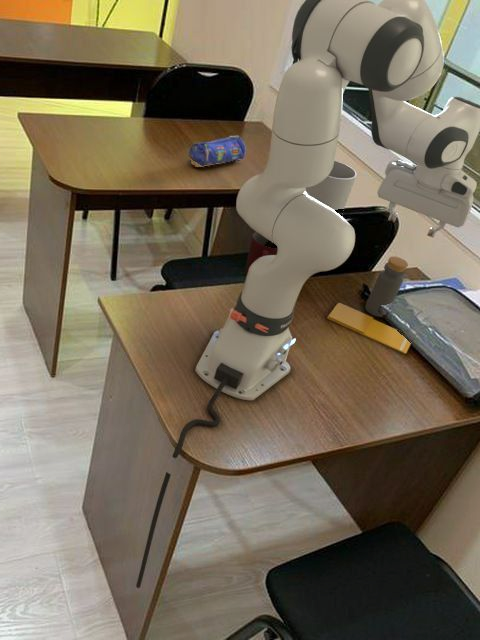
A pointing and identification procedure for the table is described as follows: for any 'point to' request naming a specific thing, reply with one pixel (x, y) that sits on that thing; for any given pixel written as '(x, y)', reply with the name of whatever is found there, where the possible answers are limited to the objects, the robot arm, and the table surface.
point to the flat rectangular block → (369, 327)
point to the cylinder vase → (334, 186)
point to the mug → (258, 249)
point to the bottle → (386, 285)
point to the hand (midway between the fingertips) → (410, 228)
